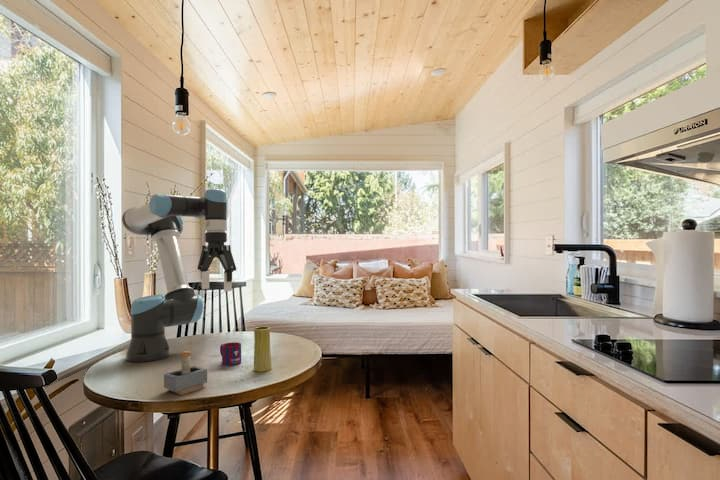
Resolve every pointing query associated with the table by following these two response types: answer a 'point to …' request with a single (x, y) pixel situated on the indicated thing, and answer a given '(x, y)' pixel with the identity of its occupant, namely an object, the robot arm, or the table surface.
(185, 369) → the keeper post
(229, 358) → the mug
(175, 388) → the link
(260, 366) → the vase
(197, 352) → the table surface
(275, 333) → the table surface
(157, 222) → the robot arm
